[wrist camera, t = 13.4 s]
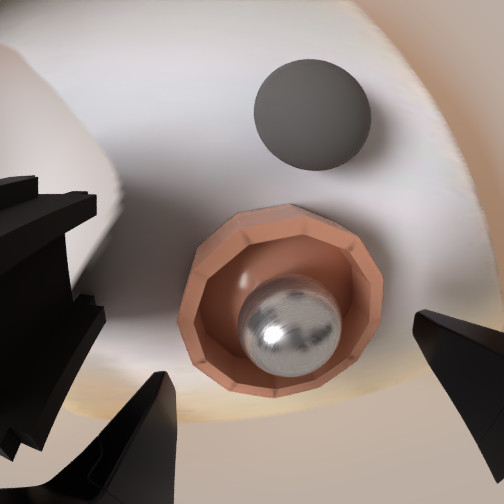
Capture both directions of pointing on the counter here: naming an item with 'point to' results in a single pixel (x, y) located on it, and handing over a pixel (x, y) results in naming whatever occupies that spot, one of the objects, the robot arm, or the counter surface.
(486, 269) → the counter surface
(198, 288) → the dish
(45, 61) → the counter surface
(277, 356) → the steel ball
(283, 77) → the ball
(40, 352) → the toy
